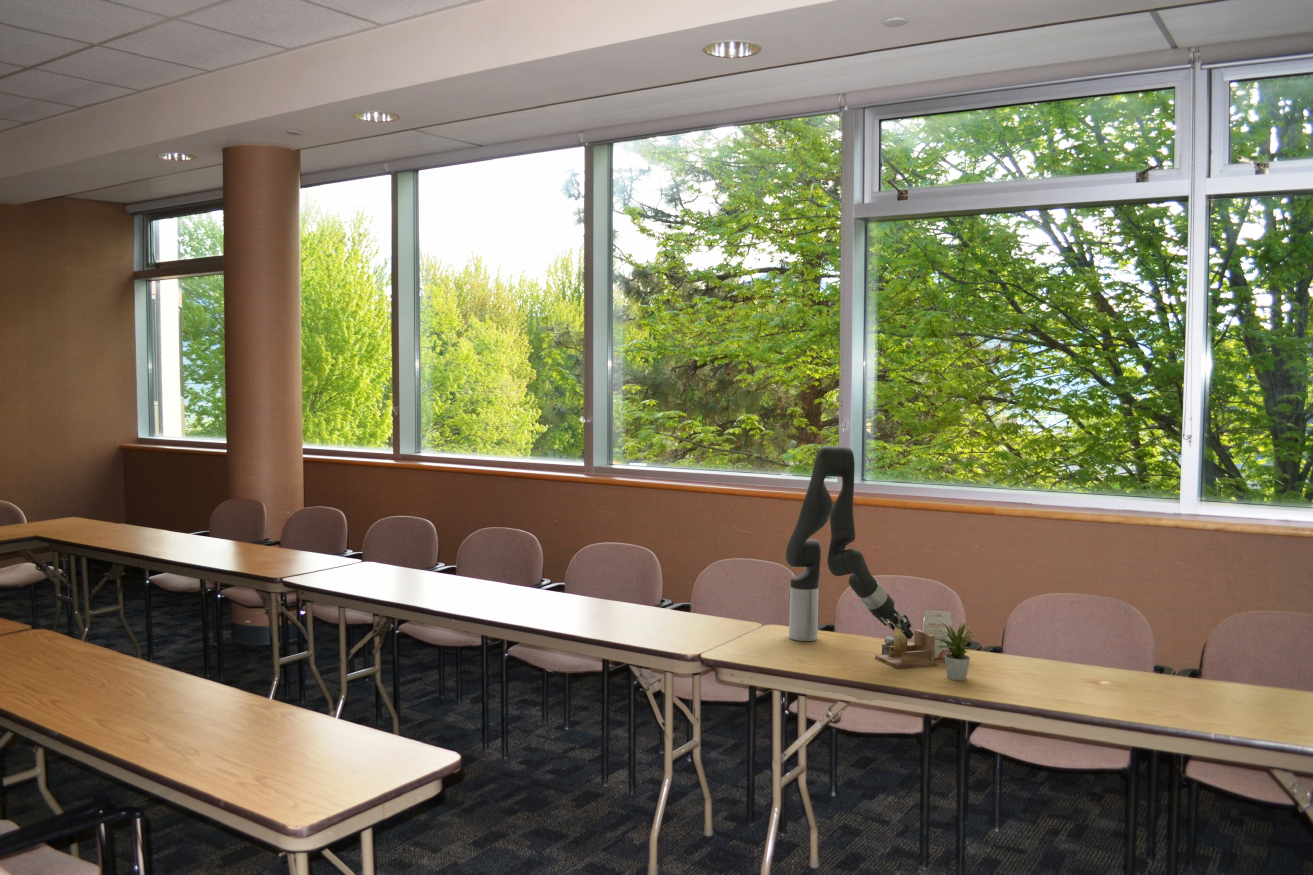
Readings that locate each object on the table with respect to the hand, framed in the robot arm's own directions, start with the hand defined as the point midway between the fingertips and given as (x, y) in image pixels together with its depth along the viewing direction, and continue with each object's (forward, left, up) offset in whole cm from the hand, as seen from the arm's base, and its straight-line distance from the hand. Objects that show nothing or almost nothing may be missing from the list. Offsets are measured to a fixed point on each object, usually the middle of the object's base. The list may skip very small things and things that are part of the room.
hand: (905, 634), depth 296 cm
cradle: (-2, 0, -8) cm, 9 cm away
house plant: (+18, +5, -8) cm, 20 cm away
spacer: (0, -2, -4) cm, 5 cm away
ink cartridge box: (-3, +13, -9) cm, 16 cm away
